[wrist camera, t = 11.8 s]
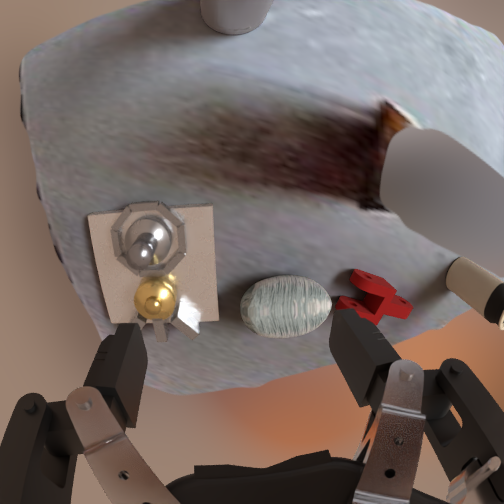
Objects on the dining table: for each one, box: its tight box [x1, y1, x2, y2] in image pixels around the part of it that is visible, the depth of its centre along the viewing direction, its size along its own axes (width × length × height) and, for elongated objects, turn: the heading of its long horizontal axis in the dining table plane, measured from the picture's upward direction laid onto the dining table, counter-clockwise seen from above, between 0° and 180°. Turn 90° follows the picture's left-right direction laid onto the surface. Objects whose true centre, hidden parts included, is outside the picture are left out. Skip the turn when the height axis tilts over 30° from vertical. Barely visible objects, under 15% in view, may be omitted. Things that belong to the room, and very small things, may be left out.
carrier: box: [88, 201, 219, 342], centre depth 39 cm, size 21×18×6 cm
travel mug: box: [446, 257, 504, 330], centre depth 42 cm, size 8×8×18 cm
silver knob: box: [124, 216, 172, 270], centre depth 34 cm, size 6×6×7 cm
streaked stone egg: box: [240, 275, 332, 338], centre depth 42 cm, size 14×10×10 cm
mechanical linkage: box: [335, 269, 413, 325], centre depth 47 cm, size 16×7×5 cm, turn 69°
